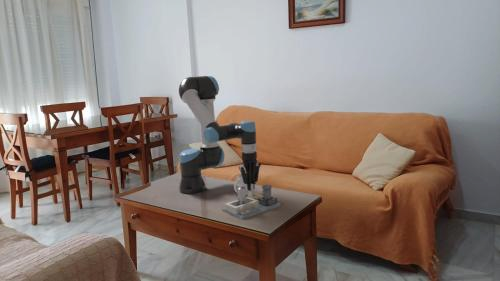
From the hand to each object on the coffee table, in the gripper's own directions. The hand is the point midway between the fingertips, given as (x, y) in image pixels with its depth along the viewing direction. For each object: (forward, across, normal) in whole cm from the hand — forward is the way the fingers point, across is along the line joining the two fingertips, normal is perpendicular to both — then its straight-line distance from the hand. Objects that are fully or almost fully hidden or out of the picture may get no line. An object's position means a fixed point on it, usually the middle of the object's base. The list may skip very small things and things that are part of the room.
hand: (251, 196), depth 197 cm
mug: (+3, +3, +12) cm, 13 cm away
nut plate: (+3, -6, -8) cm, 11 cm away
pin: (+2, -11, -7) cm, 13 cm away
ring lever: (+1, +2, -5) cm, 6 cm away
